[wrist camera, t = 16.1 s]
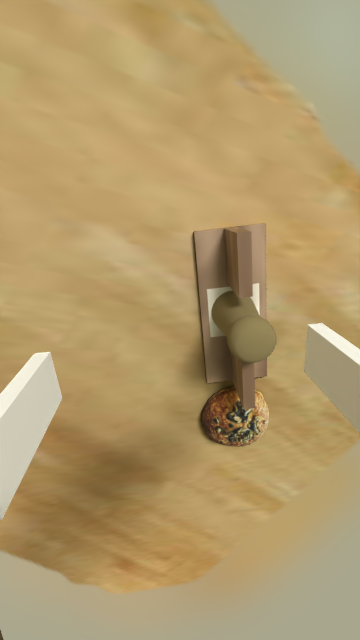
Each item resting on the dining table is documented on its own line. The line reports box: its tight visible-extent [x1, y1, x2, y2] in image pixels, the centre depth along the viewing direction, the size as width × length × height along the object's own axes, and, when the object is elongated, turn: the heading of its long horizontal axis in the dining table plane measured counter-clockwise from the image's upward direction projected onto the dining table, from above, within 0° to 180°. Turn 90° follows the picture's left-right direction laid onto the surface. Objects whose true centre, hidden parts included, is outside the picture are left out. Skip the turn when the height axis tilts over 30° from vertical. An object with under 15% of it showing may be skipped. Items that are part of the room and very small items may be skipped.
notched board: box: [194, 223, 267, 409], centre depth 38 cm, size 9×22×8 cm, turn 6°
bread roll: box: [202, 387, 269, 447], centre depth 47 cm, size 11×11×5 cm
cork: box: [211, 291, 276, 363], centre depth 36 cm, size 6×6×11 cm
